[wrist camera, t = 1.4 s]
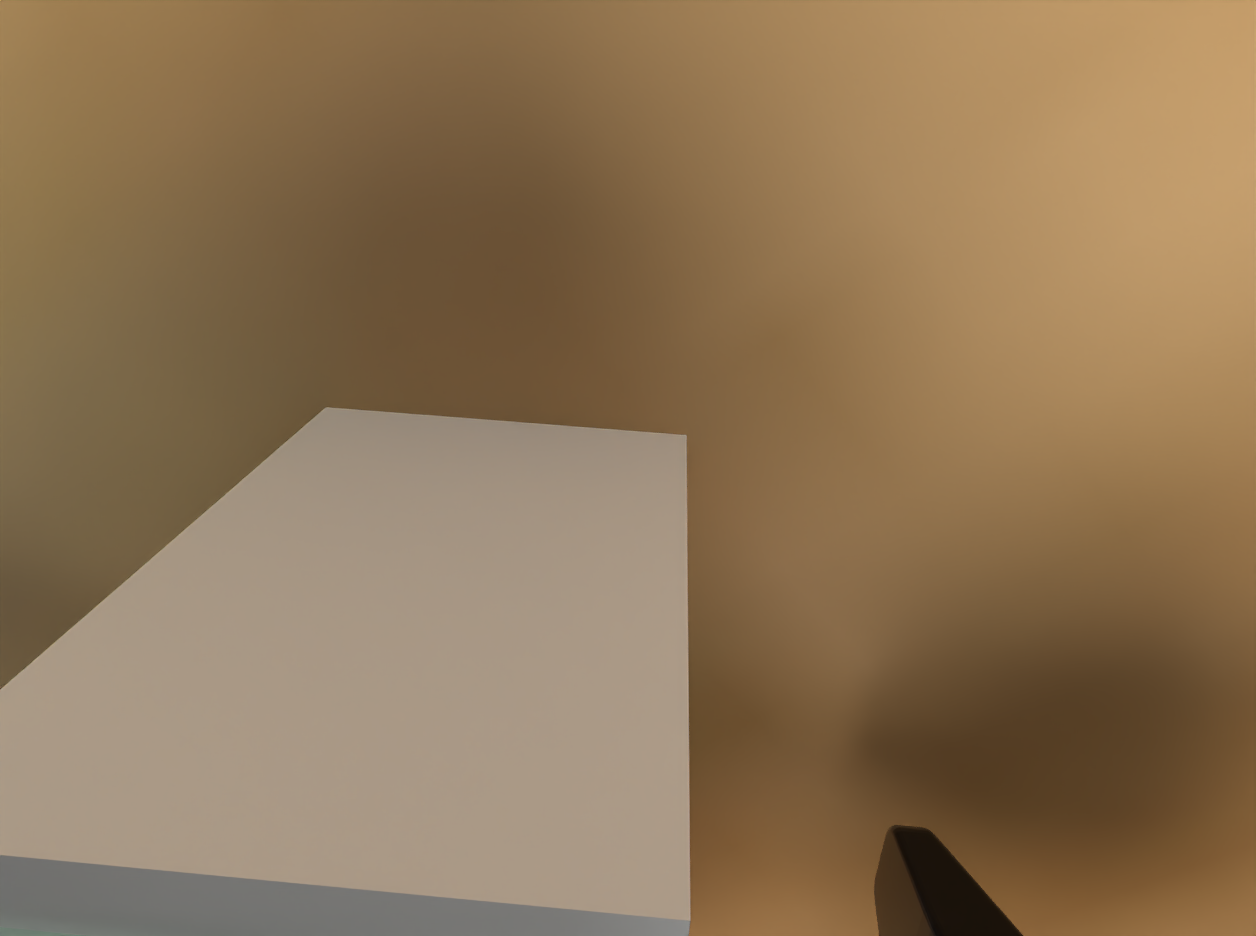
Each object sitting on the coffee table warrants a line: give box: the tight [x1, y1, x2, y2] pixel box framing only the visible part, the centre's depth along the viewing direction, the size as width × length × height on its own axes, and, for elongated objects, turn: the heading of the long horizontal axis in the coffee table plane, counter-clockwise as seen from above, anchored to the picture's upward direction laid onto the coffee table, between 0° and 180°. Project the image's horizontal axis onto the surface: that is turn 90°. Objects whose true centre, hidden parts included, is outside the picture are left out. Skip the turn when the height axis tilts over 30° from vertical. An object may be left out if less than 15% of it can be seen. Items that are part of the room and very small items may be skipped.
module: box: [0, 407, 690, 936], centre depth 8 cm, size 4×8×6 cm, turn 177°
